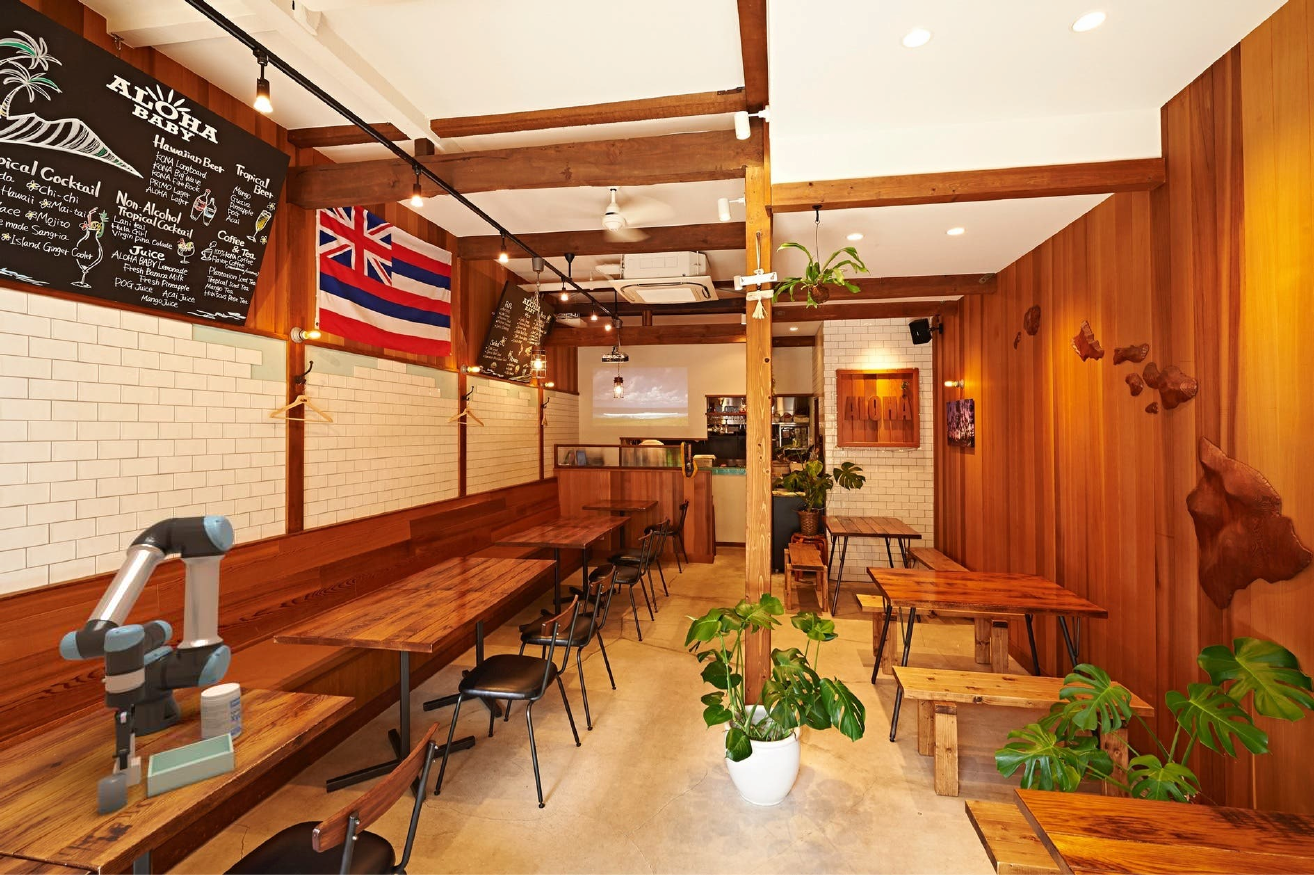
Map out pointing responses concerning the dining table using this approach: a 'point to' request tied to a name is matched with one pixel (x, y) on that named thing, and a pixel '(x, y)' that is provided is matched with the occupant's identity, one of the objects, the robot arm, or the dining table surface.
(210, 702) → the supplement tub
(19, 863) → the dining table surface
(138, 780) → the tan cube
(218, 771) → the teal tote
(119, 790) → the charcoal cylinder
